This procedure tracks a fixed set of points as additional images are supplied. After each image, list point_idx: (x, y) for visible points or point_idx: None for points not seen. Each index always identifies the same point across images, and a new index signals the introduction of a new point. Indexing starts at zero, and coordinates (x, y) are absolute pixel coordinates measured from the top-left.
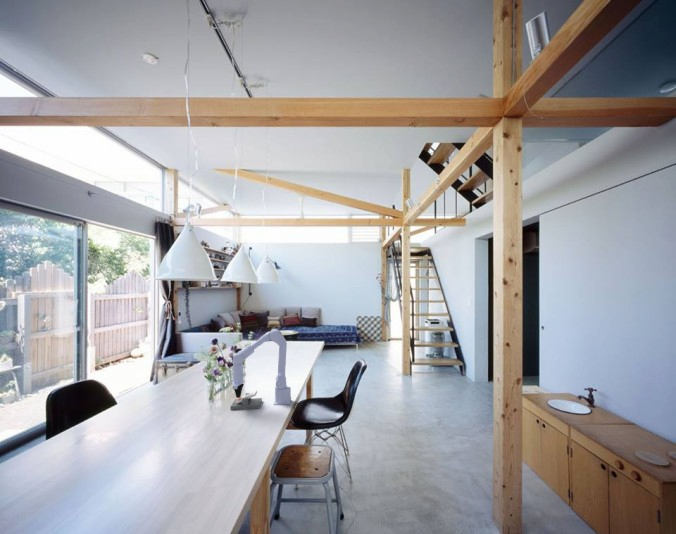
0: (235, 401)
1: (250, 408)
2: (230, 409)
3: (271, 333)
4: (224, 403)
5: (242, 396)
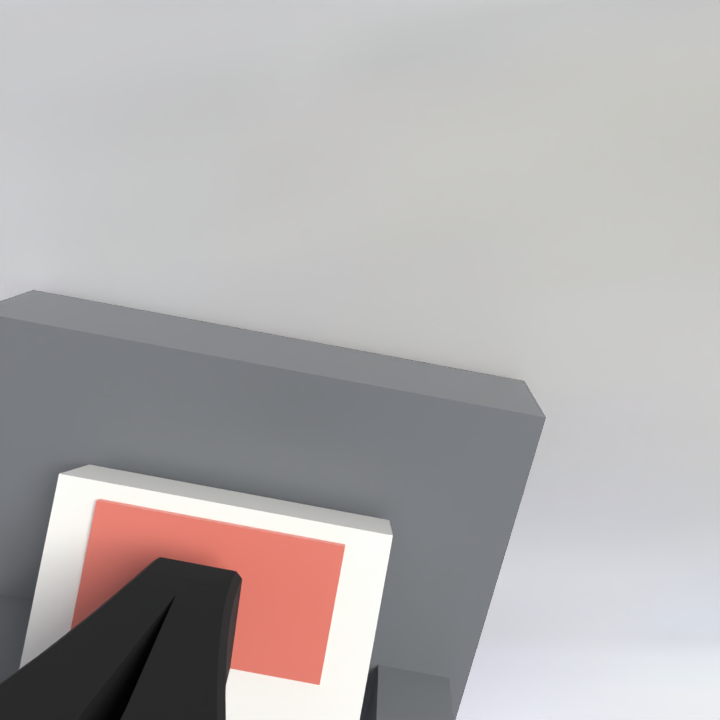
0: (349, 429)
1: None
2: (27, 293)
3: None
4: (619, 59)
5: (342, 701)
